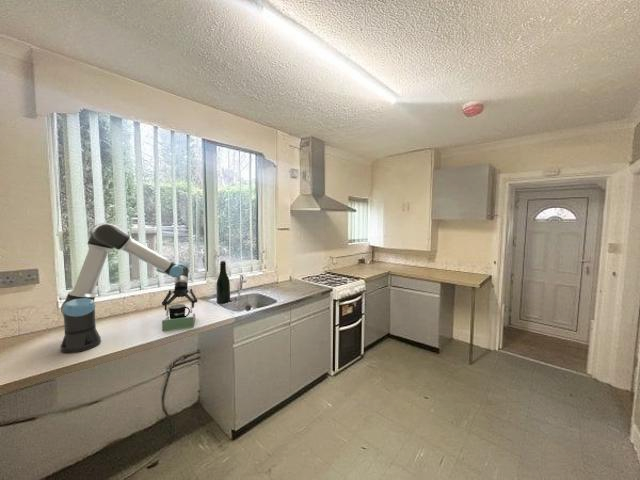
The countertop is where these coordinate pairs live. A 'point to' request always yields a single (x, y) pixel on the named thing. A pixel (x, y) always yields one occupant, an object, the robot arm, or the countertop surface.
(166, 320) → the block
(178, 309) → the mug
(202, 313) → the countertop surface
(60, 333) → the countertop surface
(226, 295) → the beer bottle
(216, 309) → the countertop surface
